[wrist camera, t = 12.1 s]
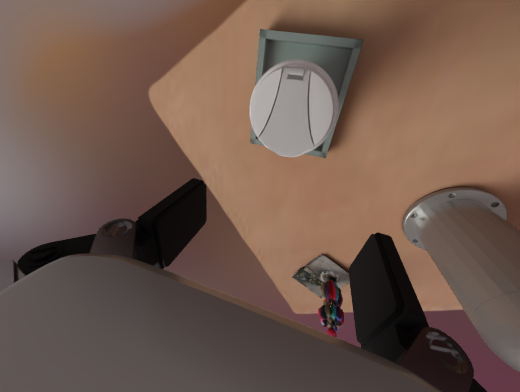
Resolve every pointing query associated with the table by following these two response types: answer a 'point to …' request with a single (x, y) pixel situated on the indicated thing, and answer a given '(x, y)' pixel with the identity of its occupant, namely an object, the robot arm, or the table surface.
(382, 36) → the table surface
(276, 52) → the tray
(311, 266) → the statue
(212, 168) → the table surface
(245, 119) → the table surface
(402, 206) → the table surface
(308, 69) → the paper cup
